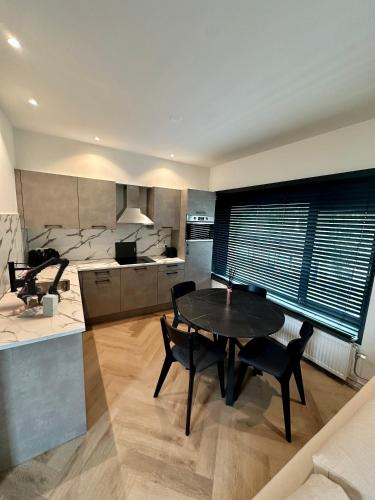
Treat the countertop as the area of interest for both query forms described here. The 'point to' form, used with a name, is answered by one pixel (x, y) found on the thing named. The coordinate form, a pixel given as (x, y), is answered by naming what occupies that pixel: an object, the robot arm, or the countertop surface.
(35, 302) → the walnut block
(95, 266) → the countertop surface
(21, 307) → the peach rounded capsule
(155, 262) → the countertop surface
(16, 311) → the peach capsule shape
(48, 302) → the skincare box
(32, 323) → the countertop surface
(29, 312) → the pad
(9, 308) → the countertop surface
